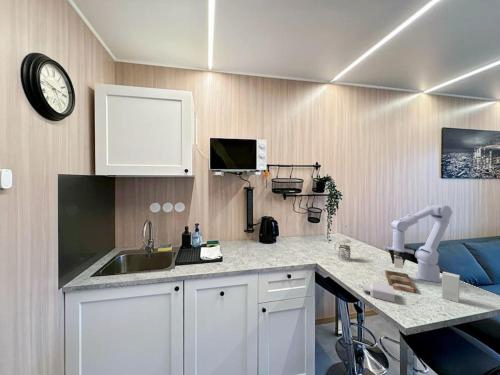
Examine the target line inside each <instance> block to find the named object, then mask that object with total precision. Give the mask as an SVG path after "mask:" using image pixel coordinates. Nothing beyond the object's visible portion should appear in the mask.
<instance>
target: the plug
mask: <svg viewBox="0 0 500 375" xmlns="http://www.w3.org/2000/svg"><path fill="white" fill-rule="evenodd" d="M392 265H393V267H394V268H397V269H403V267H404V265H403V259H402V256H399V255H394V264H392Z"/></svg>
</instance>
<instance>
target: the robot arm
mask: <svg viewBox="0 0 500 375" xmlns="http://www.w3.org/2000/svg"><path fill="white" fill-rule="evenodd" d="M452 215H453V211H452V209H451V207H450V206H449V205H442V204H434V203H431V204H429V205H426V206H425V208H423V209H421V210H419V211H418V212H415V213H414V214H412V213H408V214H406V216H404V217H400V218H399V219H394V220H393V221H392V222H391V224H390V228H391V230H392V246H385V245H383V251H388V252H389V255H390V258H391V263H392V265H393V264H394V256H395V252H396V253H397V252H398V253H401V258H402V259H403V266H404V265H405V262H406V260H407V258H408V257H409V255H410V254H411V255H414V257H415V258H416V259H417V260H416V261H417V273H415V275H416V277H417V279H418V280H422V281H427V282H435V283H441V281H440V279H441V278H440V274H441V271H440V266H439V265H438V262H439V257H440V253H439V252H438V251H437V250H438V247H439V245H440V242H441V240H442V239H443V236H444V235H445V232H446V231H447V228H448V226H449V224H450V220H451V216H452ZM428 216H430V217H432V219H434V220H435V223H434V224H433V227H432V229H431V231H430V233H429V235H428V237H427V240H426V242H425V243H424V245H422V246H419V248H418V249H416V251H415V250H414V249H410V248H405V243H406V242H405V240H406V239H405V238H406V231H408V229H409V227H411V226H413V225H415V224H418V222H419V220H421V219H423V218H426V217H428Z"/></svg>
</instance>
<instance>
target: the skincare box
mask: <svg viewBox="0 0 500 375" xmlns="http://www.w3.org/2000/svg"><path fill="white" fill-rule="evenodd" d="M441 275H442V276H441V297H442V299H445V300H448V301H451V300H452V301H451V302H456V303H458V302H459V303H460V289H461V288H460V285H461V284H460V279H461V278H460V277H461V276H460V274H456V273H452V272H451V273H450V272H447V271H443V272H442V273H441Z"/></svg>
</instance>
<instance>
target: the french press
mask: <svg viewBox="0 0 500 375" xmlns="http://www.w3.org/2000/svg"><path fill="white" fill-rule="evenodd" d="M343 227H344V228H347V224H343ZM340 242H341V243H344V244H340ZM346 243H347V244H346ZM348 243H349V244H350V243H352V241H351V239H349V238H345V237H344V238H343V237H342V238H339V239H338V241H337V244H338V245H339V247H338V250H337V249H336V246H337V244H334V250H335V251H336V252H337V257H336V259H337V260H338V261H340V262H344V263H350V262H352V261H353V260H352V259H351V246H350V245H348Z"/></svg>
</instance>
